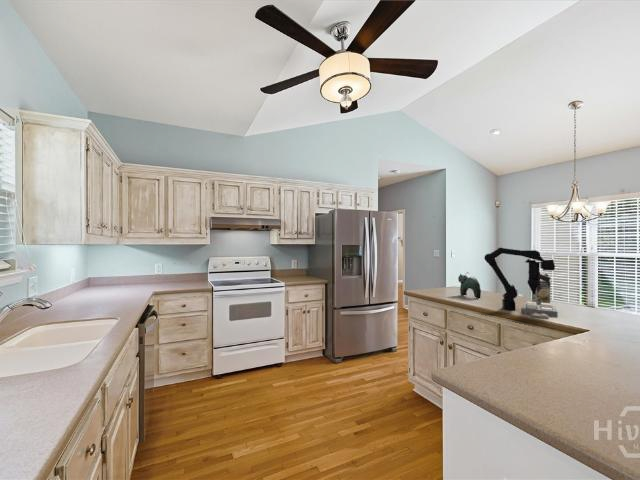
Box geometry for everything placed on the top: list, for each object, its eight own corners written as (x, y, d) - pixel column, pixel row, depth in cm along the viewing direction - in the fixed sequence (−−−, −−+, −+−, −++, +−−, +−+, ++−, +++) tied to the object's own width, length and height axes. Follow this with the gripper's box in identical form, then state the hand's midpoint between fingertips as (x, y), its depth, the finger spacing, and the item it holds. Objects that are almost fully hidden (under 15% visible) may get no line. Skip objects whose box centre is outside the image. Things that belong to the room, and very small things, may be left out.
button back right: (541, 307, 190) (541, 304, 190) (541, 306, 194) (540, 302, 194) (551, 308, 187) (551, 304, 187) (550, 307, 191) (550, 303, 191)
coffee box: (537, 304, 214) (536, 281, 214) (531, 302, 220) (531, 280, 220) (551, 304, 213) (550, 281, 213) (545, 302, 219) (544, 280, 219)
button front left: (526, 308, 188) (526, 304, 188) (526, 307, 192) (526, 303, 192) (536, 309, 185) (536, 305, 185) (536, 308, 189) (536, 304, 189)
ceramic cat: (457, 295, 253) (457, 271, 253) (464, 294, 255) (463, 271, 255) (476, 299, 234) (476, 273, 234) (483, 298, 236) (482, 273, 236)
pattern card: (531, 317, 177) (531, 314, 177) (531, 314, 184) (531, 312, 184) (548, 318, 173) (548, 316, 173) (547, 316, 179) (547, 313, 179)
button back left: (526, 306, 194) (526, 302, 194) (526, 305, 198) (526, 301, 198) (536, 307, 191) (536, 303, 191) (536, 305, 195) (536, 302, 195)
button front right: (541, 312, 184) (541, 308, 184) (541, 310, 188) (541, 307, 188) (552, 313, 181) (552, 309, 181) (551, 311, 185) (551, 308, 185)
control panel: (522, 313, 187) (522, 308, 187) (522, 307, 202) (522, 303, 202) (557, 316, 177) (557, 311, 177) (555, 311, 192) (555, 306, 192)
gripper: (550, 271, 180) (550, 297, 180) (549, 269, 195) (549, 293, 195) (527, 270, 187) (527, 295, 187) (528, 268, 202) (528, 291, 202)
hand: (534, 294), depth 193 cm, fingers closed
